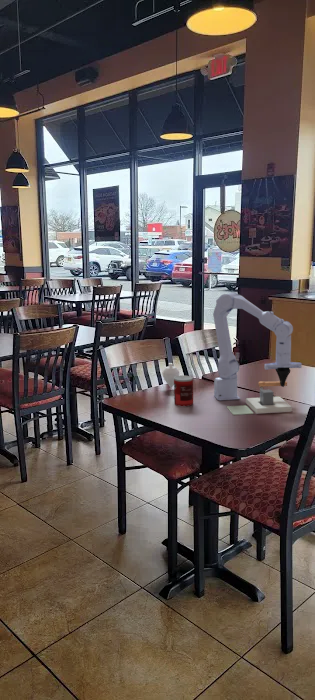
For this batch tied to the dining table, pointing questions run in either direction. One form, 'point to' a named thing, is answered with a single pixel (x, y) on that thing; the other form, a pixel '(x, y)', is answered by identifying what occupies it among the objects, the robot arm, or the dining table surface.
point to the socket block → (277, 406)
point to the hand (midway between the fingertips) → (282, 386)
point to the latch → (271, 383)
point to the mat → (239, 410)
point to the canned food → (183, 390)
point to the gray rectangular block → (266, 397)
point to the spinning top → (170, 374)
